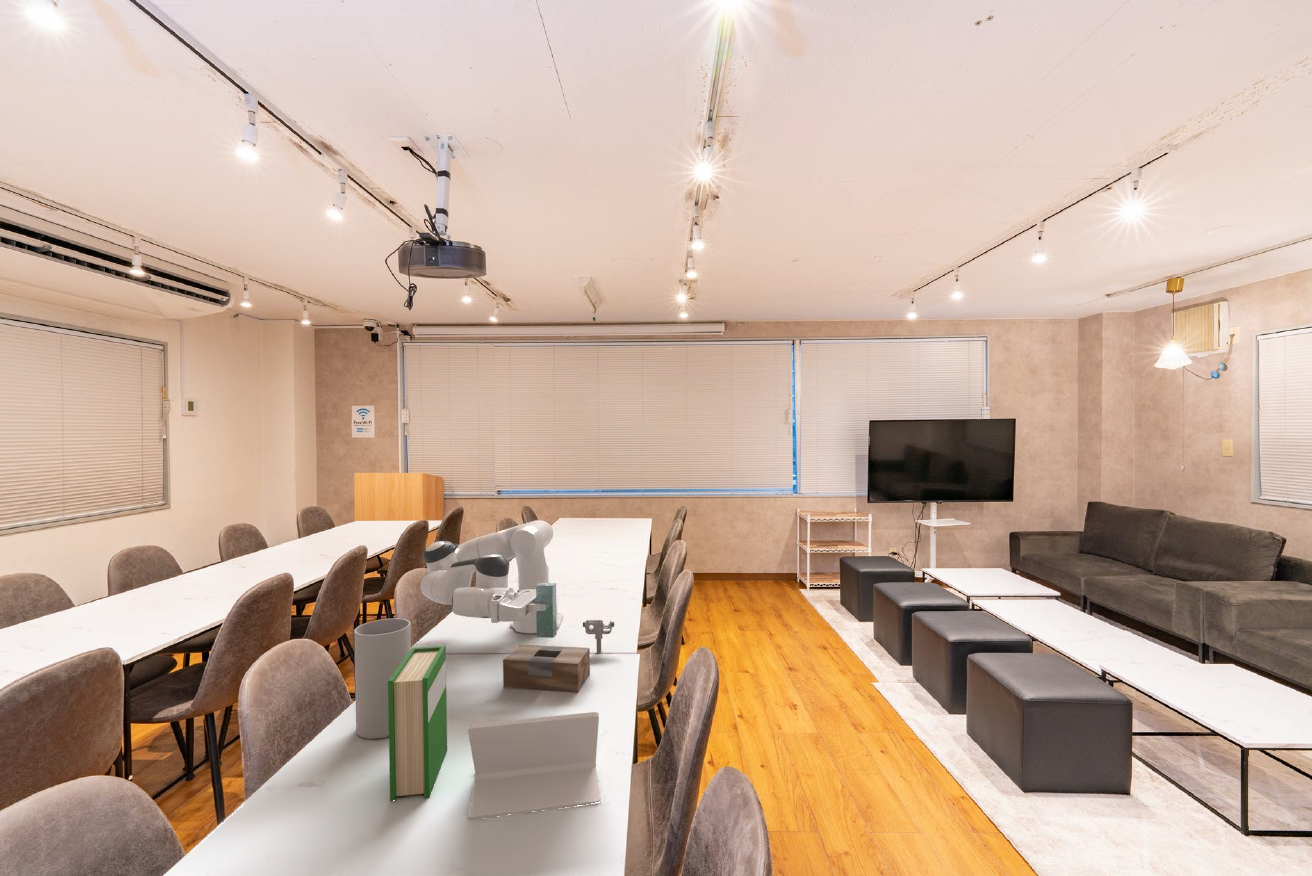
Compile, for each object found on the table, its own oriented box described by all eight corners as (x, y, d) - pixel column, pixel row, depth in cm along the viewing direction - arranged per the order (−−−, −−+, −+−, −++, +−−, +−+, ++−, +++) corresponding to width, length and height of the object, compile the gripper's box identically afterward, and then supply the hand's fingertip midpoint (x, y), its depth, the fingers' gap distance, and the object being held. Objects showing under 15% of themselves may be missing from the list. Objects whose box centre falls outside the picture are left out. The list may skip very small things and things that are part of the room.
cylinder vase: (400, 710, 153) (398, 615, 152) (420, 727, 144) (418, 626, 144) (349, 727, 144) (347, 627, 144) (366, 746, 135) (364, 639, 135)
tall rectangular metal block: (540, 633, 171) (539, 582, 171) (556, 634, 170) (556, 583, 170) (536, 637, 168) (536, 585, 168) (553, 637, 167) (552, 585, 167)
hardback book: (429, 798, 116) (427, 678, 116) (390, 802, 115) (387, 680, 114) (447, 750, 133) (445, 645, 133) (413, 753, 132) (411, 648, 132)
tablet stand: (601, 804, 113) (600, 718, 113) (467, 822, 109) (466, 731, 109) (593, 754, 131) (592, 679, 131) (478, 767, 127) (477, 689, 126)
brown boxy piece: (519, 670, 177) (519, 644, 177) (589, 674, 174) (589, 647, 174) (503, 687, 165) (502, 659, 165) (578, 692, 162) (577, 663, 162)
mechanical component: (613, 653, 190) (613, 622, 190) (582, 653, 190) (582, 623, 190) (614, 650, 193) (614, 619, 193) (584, 650, 193) (583, 620, 193)
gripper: (518, 603, 182) (560, 605, 179) (489, 625, 161) (536, 627, 159) (518, 583, 181) (560, 584, 179) (488, 602, 161) (536, 604, 159)
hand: (549, 604), depth 169 cm, fingers closed on tall rectangular metal block, 3 cm apart
